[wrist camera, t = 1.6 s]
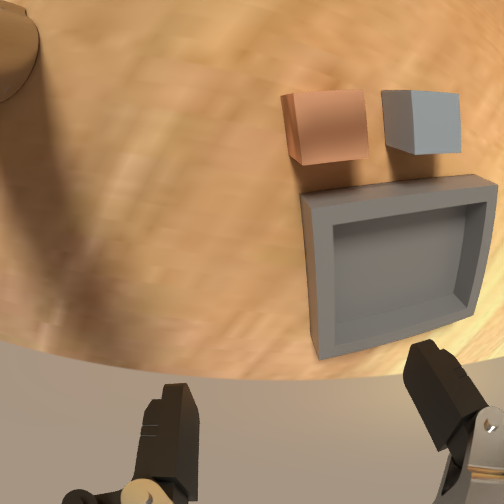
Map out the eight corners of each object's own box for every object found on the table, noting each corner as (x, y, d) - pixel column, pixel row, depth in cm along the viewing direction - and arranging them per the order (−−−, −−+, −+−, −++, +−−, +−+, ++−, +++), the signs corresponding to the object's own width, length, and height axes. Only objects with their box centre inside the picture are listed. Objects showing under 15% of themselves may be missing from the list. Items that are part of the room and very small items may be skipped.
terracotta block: (280, 95, 23) (293, 93, 18) (339, 91, 23) (363, 89, 18) (288, 154, 25) (302, 165, 21) (345, 148, 25) (369, 158, 21)
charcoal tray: (299, 193, 27) (311, 208, 23) (474, 174, 27) (498, 184, 23) (310, 335, 34) (319, 360, 30) (456, 297, 34) (473, 315, 30)
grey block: (381, 90, 23) (410, 90, 18) (425, 92, 23) (458, 93, 18) (385, 144, 25) (414, 154, 21) (428, 142, 25) (460, 152, 21)
